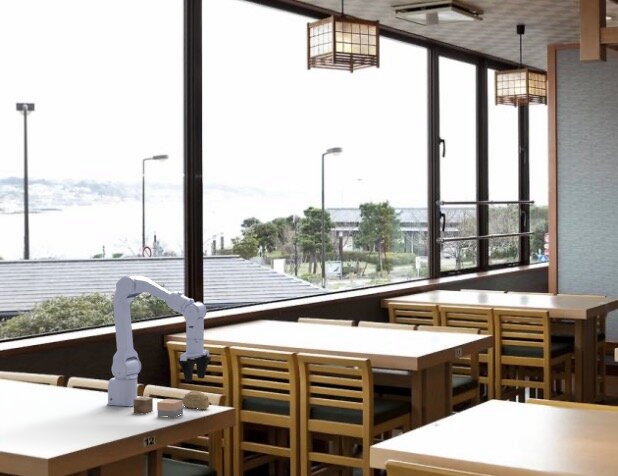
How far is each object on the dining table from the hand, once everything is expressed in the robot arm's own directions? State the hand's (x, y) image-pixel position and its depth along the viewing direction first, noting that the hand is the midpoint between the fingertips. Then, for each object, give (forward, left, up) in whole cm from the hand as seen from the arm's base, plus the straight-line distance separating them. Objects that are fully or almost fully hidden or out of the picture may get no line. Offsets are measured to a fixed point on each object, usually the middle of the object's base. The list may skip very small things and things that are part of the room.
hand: (194, 379), depth 315 cm
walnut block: (-14, -9, -10) cm, 20 cm away
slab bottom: (-3, -11, -10) cm, 15 cm away
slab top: (-3, -11, -8) cm, 14 cm away
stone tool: (-1, +4, -10) cm, 11 cm away
